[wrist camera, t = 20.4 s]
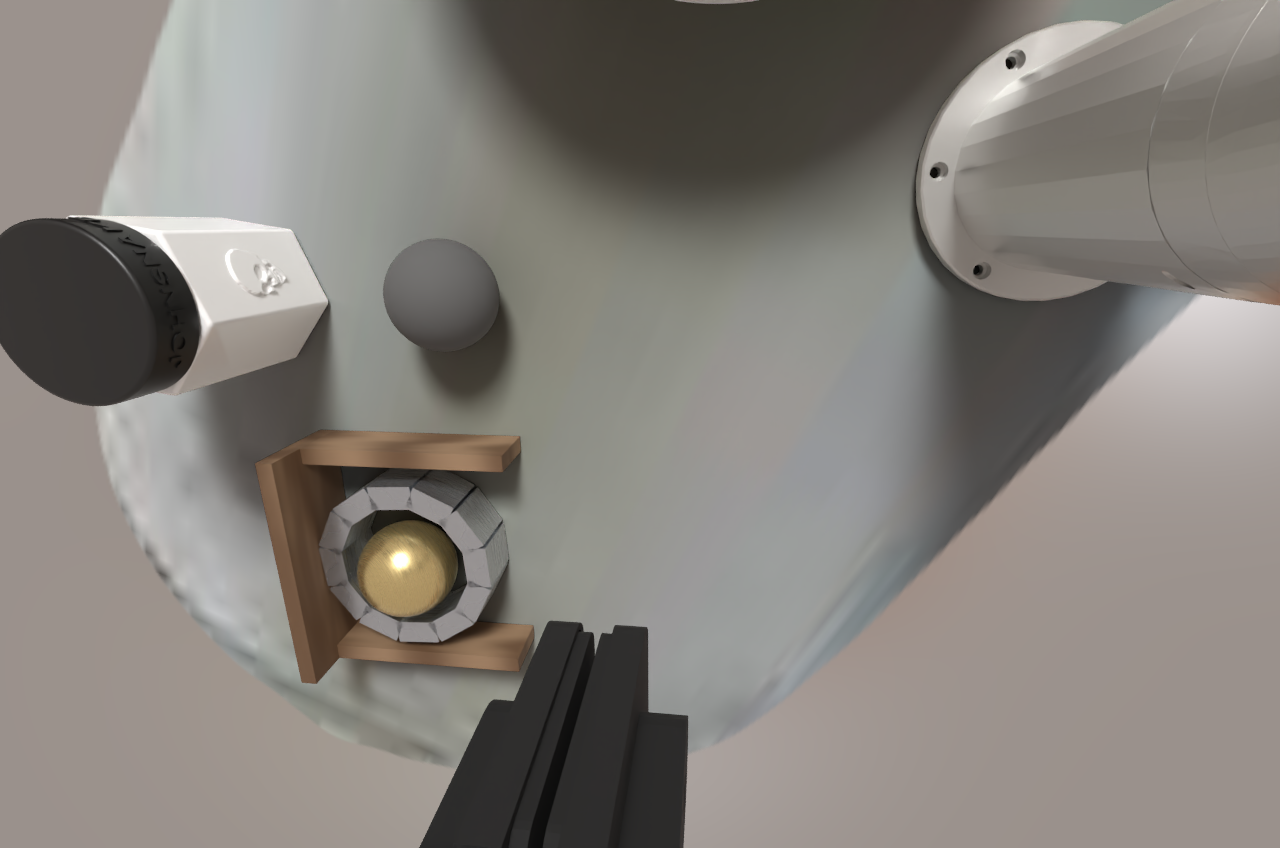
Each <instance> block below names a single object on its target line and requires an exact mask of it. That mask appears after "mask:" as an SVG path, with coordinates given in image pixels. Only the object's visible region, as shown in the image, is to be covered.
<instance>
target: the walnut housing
mask: <svg viewBox="0 0 1280 848" xmlns="http://www.w3.org/2000/svg"><path fill="white" fill-rule="evenodd" d="M520 452H521V445H520V436H494V435H463V434H432V433H402V432H371V431H340V430H319V431H317V432H315V433H313V434H311V435H309V436H307V437H305V438H303V439H301V440H299V441H297V442H295V443H293V444H291V445H290V446H288V447H286V448H284V449H282V450H280V451H278V452H276V453H274V454H272V455H270V456H268V457H266V458H264V459H262V460H260V461H258V462H257V463H255V467H256V471H257V476H258V481H259V485H260V490H261V495H262V499H263V504H264V508H265V513H266V518H267V522H268V527H269V532H270V536H271V541H272V546H273V550H274V555H275V560H276V564H277V569H278V574H279V578H280V583H281V588H282V592H283V597H284V602H285V606H286V611H287V616H288V620H289V625H290V630H291V634H292V639H293V644H294V648H295V653H296V658H297V662H298V667H299V672H300V676H301V681H302V683H313V684H317V683H318V681H319V680H320V679H321V678H322V677H323V676H324V675H325V673H326V672H327V671H328V670H329V669H330V668H331V667H332V665H333V664H334V663H335V662H336V661H337V660H338V659H339V658H351V659H363V660H376V661H389V662H402V663H415V664H427V665H440V666H453V667H466V668H479V669H491V670H504V671H517V672H519V671H520V669H521V666H522V664H523V662H524V659H525V657H526V655H527V653H528V650H529V648H530V646H531V644H532V641H533V639H534V627H533V625H519V624H504V623H490V622H475V623H474V624H473V625H472V626H470V627H468V628H466V629H464V630H462V631H461V632H459V633H457V634H455V635H453V636H452V637H450V638H448V639H446V640H444V641H441V640H440V641H439V642H400V639H399V638H398V639H397V641H396V640H394V639H392V638H390V637H388V636H386V635H384V634H382V633H380V632H378V631H376V630H374V629H372V628H370V627H368V626H365V625H363V624H361V623H359V622H360V619H361V618H359V619H358V620H356V619H355V618H354V617H353V616H352V615H351V613H350V612H349V611H348V610H347V609H346V608H345V606H344V605H343V604H342V603H341V602H340V600H339V599H338V598H337V597H336V596H335V595H334V593H333V592H332V591H331V590H330V588H331V587H332V586H328V584H327V580H326V576H325V572H324V568H323V564H322V560H321V556H320V552H319V548H320V547H321V546H319V543H320V541H321V538H322V535H323V532H324V529H325V526H326V523H327V520H328V518H329V515H330V512H331V511H332V510H333V508H335V507H336V506H337V505H339V504H340V503H341V502H343V501H344V500H345V499H346V497H345V491H344V485H343V479H342V474H341V468H340V466H359V467H385V468H410V469H435V470H460V471H485V472H503V471H504V470H505V469H506V468H507V467H508V466H509V464H510V463H511V462H512V461H513V460H514V459H515V457H516V456H517V455H518V454H519V453H520Z"/></svg>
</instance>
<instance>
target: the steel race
mask: <svg viewBox="0 0 1280 848" xmlns="http://www.w3.org/2000/svg"><path fill="white" fill-rule="evenodd" d="M474 486H475V484H473V483H471V482H469V481H467V480H465V479H463V478H461V477H459V476H457V475H455V474H453V473H451V472H449V471H447V470H435V469H410V468H390V469H389V470H387V471H386V472H384V473H383V474H381V475H380V476H378V477H377V478H375V479H374V480H372V481H371V482H369V483H368V484H366V485H365V486H363V487H362V488H360V489H359V490H358V491H356V492H355V493H354V494H352V495H351V496H350V497H348V498H347V499H345V500H344V501H343V502H341V503H340V504H339V505H337V506H336V507H335V508H333V510H332V511H331V512H330V515H329V518H328V520H327V523H326V526H325V529H324V532H323V535H322V538H321V541H320V543H319V546H321V547H320V548H319V552H320V556H321V560H322V564H323V568H324V572H325V576H326V580H327V584H328V586H332V587H331V588H330V590H331V591H332V592H333V593H334V595H335V596H336V597H337V598H338V599H339V600H340V602H341V603H342V604H343V605H344V606H345V608H346V609H347V610H348V611H349V612H350V613H351V615H352V616H353V617H354V618H355V619H356V620H358V619H359V618H361V619H360V622H359V623H361V624H363V625H365V626H368V627H370V628H372V629H374V630H376V631H378V632H380V633H382V634H384V635H386V636H388V637H390V638H392V639H394V640H396V641H397V639H398V638H399V639H400V642H439V641H440V640H441V641H444V640H446V639H448V638H450V637H452V636H453V635H455V634H457V633H459V632H461V631H462V630H464V629H466V628H468V627H470V626H472V625H473V624H474V623H475V622H476V621H477V619H478V617H479V616H480V614H481V612H482V611H483V609H484V608H485V606H486V604H487V603H488V601H489V599H490V598H491V596H492V594H493V593H494V591H495V589H496V587H497V585H498V583H499V581H500V579H501V577H502V574H503V572H504V570H505V568H506V566H507V564H508V560H509V554H508V548H507V541H506V534H505V527H504V523H500V522H501V521H502V518H501V517H500V515H499V514H498V513H497V512H496V510H495V509H494V508H493V506H492V505H491V504H490V502H489V501H488V500H487V498H486V497H485V496H484V494H483V493H482V492H481V491H480V489H479V488H478V487H477V488H476V489H474V490H473V488H474ZM377 510H410V511H412V512H414V513H416V514H418V515H420V516H422V517H424V518H426V519H429V520H431V521H433V522H435V523H437V524H439V525H441V526H442V528H443V529H444V530H445V532H446V533H447V534H448V535H449V537H450V538H451V539H452V540H453V542H454V543H455V544H456V545H457V547H458V548H459V549H460V551H461V552H462V554H463V560H464V566H465V572H466V578H467V584H466V585H464V586H463V587H461V588H459V589H457V590H456V591H454V592H449V593H448V595H447V596H446V597H445V598H444V600H443V601H442V602H440V603H439V604H438V605H437V606H435V607H434V608H433V609H431V610H429V611H427V612H425V613H422V614H420V615H416V616H411V617H396V616H391V615H388V614H385V613H383V612H381V611H379V610H377V609H376V608H374V607H373V606H372V605H371V604H370V603H369V602H368V601H367V600H366V598H365V597H364V596H363V594H362V592H361V590H360V587H359V584H358V578H357V566H358V561H359V557H360V555H361V553H362V550H363V548H364V547H365V545H366V544H367V542H368V541H369V540H370V539H371V538H372V537H373V533H372V529H371V526H372V523H373V521H374V518H375V515H376V513H377Z"/></svg>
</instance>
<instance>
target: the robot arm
mask: <svg viewBox="0 0 1280 848" xmlns="http://www.w3.org/2000/svg"><path fill="white" fill-rule="evenodd" d="M1006 59H1009V60H1011V62H1012V67H1011V69H1010V70H1009V69H1008V68H1007V67H1006V62H1005V60H1006ZM932 168H936V169H937V170H938V174H937V176H936V177H935V178H932V177H931V176H930V170H931V169H932ZM916 205H917V210H918V214H919V219H920V223H921V228H922V230H923V232H924V234H925V236H926V239H927V241H928V243H929V245H930V248H931V249H932V250H933V252H934V253H935V254H936V256H937V257H938V259H939V260H940V261H941V263H942V264H943V265H944V266H945V267H946V268H947V269H948V270H949V271H951V272H952V273H953V274H954V275H955V276H956V277H957V278H959V279H960V280H961V281H963V282H965V283H967V284H969V285H970V286H972V287H974V288H976V289H978V290H980V291H983V292H986V293H989V294H992V295H995V296H999V297H1003V298H1009V299H1014V300H1019V301H1047V300H1053V299H1059V298H1065V297H1071V296H1074V295H1077V294H1079V293H1082V292H1085V291H1088V290H1091V289H1094V288H1096V287H1098V286H1100V285H1102V284H1104V283H1106V282H1108V281H1110V282H1117V283H1124V284H1131V285H1138V286H1145V287H1152V288H1159V289H1166V290H1173V291H1180V292H1187V293H1194V294H1201V295H1208V296H1215V297H1222V298H1229V299H1236V300H1243V301H1250V302H1258V303H1266V304H1273V305H1280V0H1173V1H1171V2H1169V3H1167V4H1165V5H1163V6H1161V7H1159V8H1157V9H1155V10H1153V11H1151V12H1149V13H1147V14H1145V15H1143V16H1141V17H1139V18H1137V19H1135V20H1133V21H1131V22H1129V23H1127V24H1125V25H1123V24H1119V23H1116V22H1110V21H1094V20H1082V21H1075V22H1067V23H1060V24H1055V25H1052V26H1049V27H1046V28H1043V29H1041V30H1038V31H1035V32H1032V33H1029V34H1027V35H1025V36H1023V37H1021V38H1019V39H1017V40H1016V41H1014V42H1012V43H1010V44H1008V45H1006V46H1005V47H1003V48H1001V49H1000V50H998V51H997V52H995V53H994V54H992V55H991V56H990V57H988V58H987V59H985V60H984V61H982V62H981V63H980V64H979V65H978V66H977V67H976V68H975V69H974V70H972V71H971V72H970V73H969V74H968V75H967V76H966V77H965V78H964V79H963V80H962V81H961V82H960V83H959V84H958V85H957V87H956V88H955V89H954V91H953V92H952V93H951V94H950V96H949V97H948V98H947V99H946V101H945V102H944V103H943V105H942V106H941V108H940V110H939V112H938V114H937V116H936V117H935V119H934V121H933V123H932V125H931V126H930V128H929V131H928V133H927V136H926V139H925V142H924V145H923V148H922V150H921V153H920V158H919V164H918V170H917V176H916ZM976 265H978V266H979V267H980V270H979V272H978V273H977V274H975V275H974V274H973V269H974V267H975V266H976ZM687 752H688V716H685V715H673V714H661V713H649V712H648V629H647V627H636V626H621V625H615V626H614V629H613V633H612V634H607V633H602V634H601V637H600V640H599V644H598V647H597V651H596V654H595V648H594V635H593V633H592V632H583V625H582V623H577V622H562V621H549V622H548V623H547V625H546V627H545V630H544V632H543V634H542V637H541V639H540V642H539V644H538V646H537V649H536V651H535V653H534V656H533V658H532V660H531V663H530V665H529V667H528V670H527V672H526V674H525V677H524V679H523V681H522V684H521V686H520V688H519V691H518V693H517V695H516V698H515V700H514V701H506V700H493V701H491V702H490V703H489V705H488V706H487V708H486V710H485V712H484V714H483V716H482V718H481V720H480V722H479V724H478V726H477V728H476V730H475V732H474V735H473V737H472V739H471V741H470V743H469V745H468V747H467V749H466V751H465V753H464V755H463V757H462V760H461V762H460V764H459V766H458V768H457V770H456V772H455V774H454V776H453V778H452V781H451V783H450V785H449V787H448V789H447V791H446V793H445V795H444V797H443V799H442V802H441V803H440V806H439V808H438V810H437V812H436V814H435V816H434V818H433V820H432V822H431V825H430V827H429V829H428V831H427V833H426V835H425V837H424V839H423V841H422V843H421V845H420V847H419V848H683V843H684V823H685V805H686V804H685V803H686V783H687V781H686V780H687Z"/></svg>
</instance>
